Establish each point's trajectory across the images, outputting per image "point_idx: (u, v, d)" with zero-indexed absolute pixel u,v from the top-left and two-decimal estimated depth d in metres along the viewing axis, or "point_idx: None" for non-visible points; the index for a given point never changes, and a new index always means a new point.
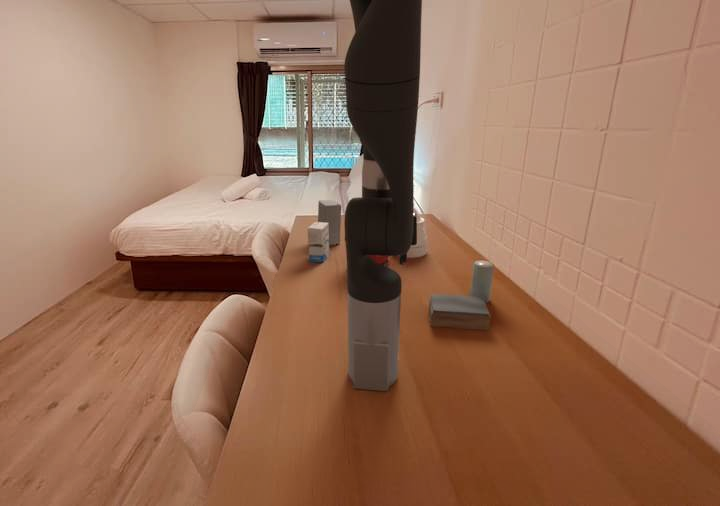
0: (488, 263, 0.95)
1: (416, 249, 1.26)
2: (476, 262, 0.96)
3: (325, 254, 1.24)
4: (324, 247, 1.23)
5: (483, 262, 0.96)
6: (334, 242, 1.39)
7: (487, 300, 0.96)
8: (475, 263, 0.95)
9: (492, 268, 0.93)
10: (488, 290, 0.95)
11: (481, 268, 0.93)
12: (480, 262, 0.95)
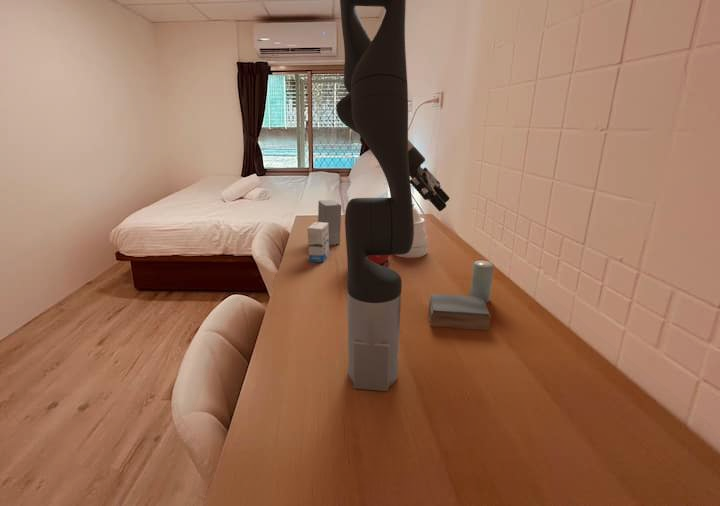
0: (488, 263, 0.95)
1: (416, 249, 1.26)
2: (476, 262, 0.96)
3: (325, 254, 1.24)
4: (324, 247, 1.23)
5: (483, 262, 0.96)
6: (334, 242, 1.39)
7: (487, 300, 0.96)
8: (475, 263, 0.95)
9: (492, 268, 0.93)
10: (488, 290, 0.95)
11: (481, 268, 0.93)
12: (480, 262, 0.95)
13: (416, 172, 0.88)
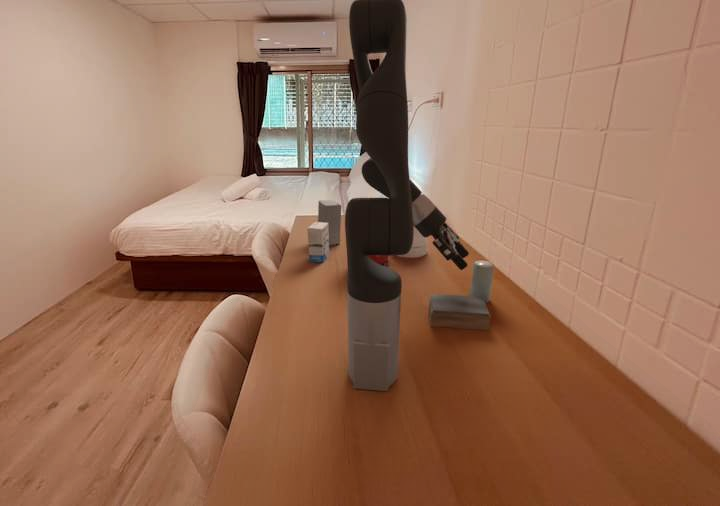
0: (488, 263, 0.95)
1: (416, 249, 1.26)
2: (476, 262, 0.96)
3: (325, 254, 1.24)
4: (324, 247, 1.23)
5: (483, 262, 0.96)
6: (334, 242, 1.39)
7: (487, 300, 0.96)
8: (475, 263, 0.95)
9: (492, 268, 0.93)
10: (488, 290, 0.95)
11: (481, 268, 0.93)
12: (480, 262, 0.95)
13: (438, 233, 0.92)
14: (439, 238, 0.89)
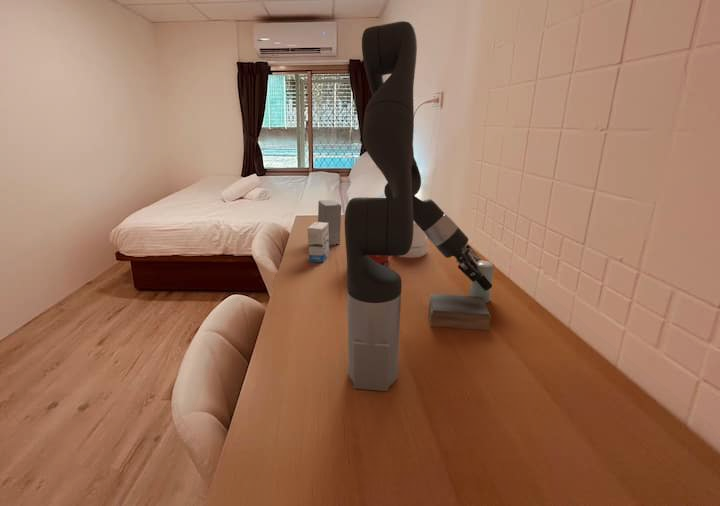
0: (488, 263, 0.95)
1: (416, 249, 1.26)
2: None
3: (325, 254, 1.24)
4: (324, 247, 1.23)
5: (483, 261, 0.96)
6: (334, 242, 1.39)
7: (487, 300, 0.96)
8: None
9: (492, 268, 0.93)
10: (488, 290, 0.95)
11: (481, 268, 0.93)
12: (480, 262, 0.95)
13: (461, 253, 0.92)
14: (465, 263, 0.89)
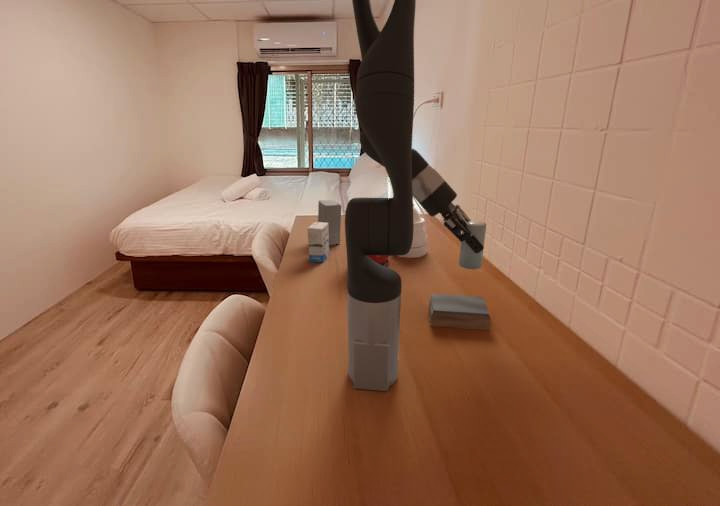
0: (480, 222, 0.83)
1: (416, 249, 1.26)
2: (466, 221, 0.83)
3: (325, 254, 1.24)
4: (324, 247, 1.23)
5: (474, 221, 0.84)
6: (334, 242, 1.39)
7: (478, 265, 0.84)
8: None
9: (484, 227, 0.81)
10: (479, 253, 0.83)
11: (471, 227, 0.81)
12: (470, 222, 0.83)
13: (448, 210, 0.80)
14: (452, 219, 0.77)
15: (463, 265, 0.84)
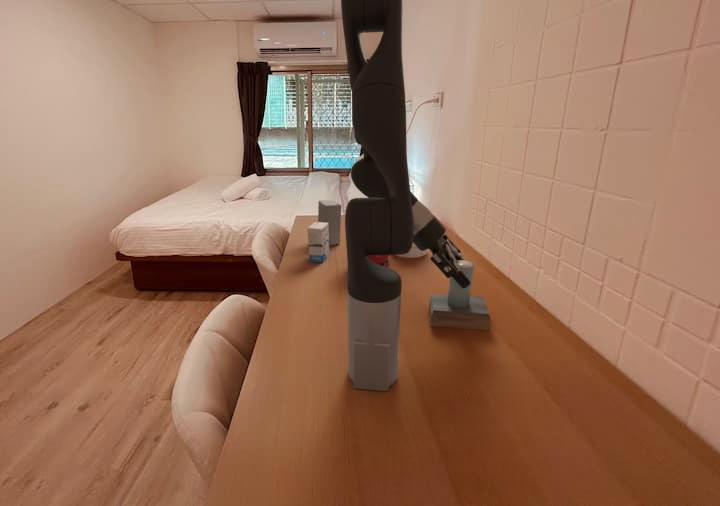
0: (468, 263, 0.84)
1: (416, 249, 1.26)
2: None
3: (325, 254, 1.24)
4: (324, 247, 1.23)
5: (462, 261, 0.85)
6: (334, 242, 1.39)
7: (466, 305, 0.85)
8: None
9: (472, 269, 0.82)
10: (467, 294, 0.84)
11: None
12: (459, 262, 0.85)
13: (436, 246, 0.80)
14: (438, 253, 0.78)
15: (451, 304, 0.86)
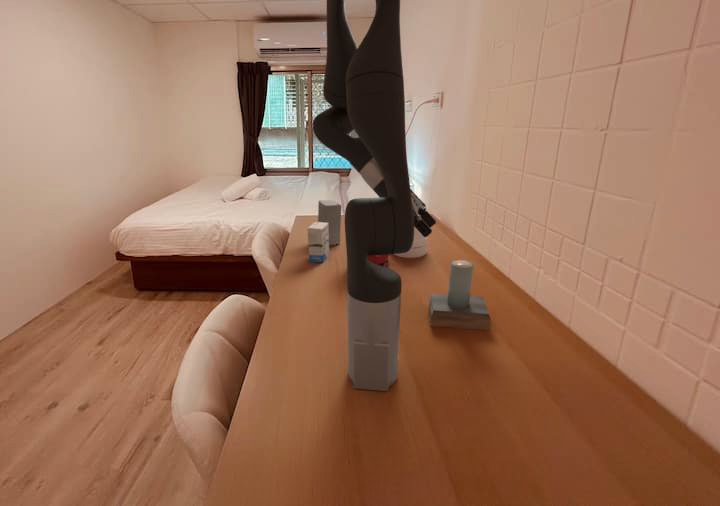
0: (467, 263, 0.84)
1: (416, 249, 1.26)
2: (454, 262, 0.85)
3: (325, 254, 1.24)
4: (324, 247, 1.23)
5: (462, 261, 0.85)
6: (334, 242, 1.39)
7: (466, 305, 0.85)
8: (452, 263, 0.84)
9: (471, 269, 0.82)
10: (467, 294, 0.84)
11: (459, 269, 0.82)
12: (458, 262, 0.85)
13: None
14: None
15: (451, 304, 0.86)
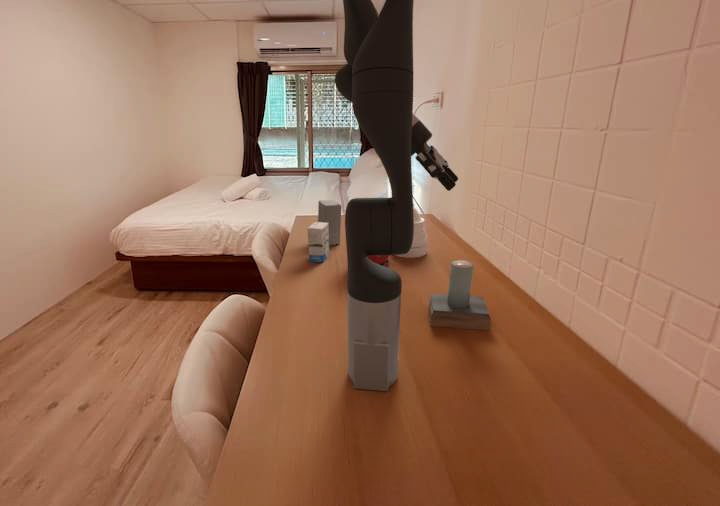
0: (467, 263, 0.84)
1: (416, 249, 1.26)
2: (454, 262, 0.85)
3: (325, 254, 1.24)
4: (324, 247, 1.23)
5: (462, 261, 0.85)
6: (334, 242, 1.39)
7: (466, 305, 0.85)
8: (452, 263, 0.84)
9: (471, 269, 0.82)
10: (467, 294, 0.84)
11: (459, 269, 0.82)
12: (458, 262, 0.85)
13: (422, 148, 0.81)
14: (423, 151, 0.78)
15: (451, 304, 0.86)
